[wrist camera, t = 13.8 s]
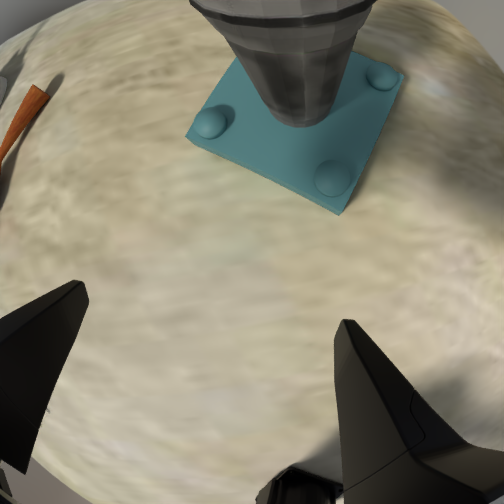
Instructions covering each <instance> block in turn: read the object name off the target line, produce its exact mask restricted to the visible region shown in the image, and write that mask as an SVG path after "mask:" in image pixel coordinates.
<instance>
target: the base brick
mask: <svg viewBox="0 0 504 504" xmlns="http://www.w3.org/2000/svg"><path fill="white" fill-rule="evenodd" d="M403 78H404V75H402V74H400V73H398V72H396V71H395V70H394V69H393V68H392V67H391V66H389V65H388V64H385V63H382V62H376V61H374V60H372V59H369V58H367V57H365V56H363V55H360V54H358V53H356V52H353V51H351V53H350V57H349V60H348V63H347V66H346V69H345V72H344V75H343V78H342V81H341V84H340V87H339V90H338V93H337V96H336V98H335V101H334V104H333V105H332V107H331V110H330V113H329V114H328V115H327V116H326V118H325V119H324V120H323V121H321V122H319V123H318V124H316V125H314V126H310V127H306V128H294V127H291V126H287V125H284V124H283V123H281V122H280V121H278V120H276V119H275V117H274V116H273V115H272V114H271V113H270V111H269V109H268V107H267V106H266V105H265V104H264V102H263V101H262V99H261V97H260V95H259V94H258V92H257V90H256V88H255V87H254V85H253V83H252V81H251V80H250V78H249V76H248V75H247V73H246V71H245V69H244V68H243V66H242V64H241V63H240V61H239V60H238V58H237V57H236V58H235V59H234V61H233V62H232V64H231V65H230V67H229V68H228V69H227V71H226V72H225V74H224V75H223V77H222V78H221V80H220V81H219V83H218V84H217V86H216V87H215V89H214V90H213V92H212V93H211V95H210V96H209V98H208V99H207V101H206V103H205V104H204V106H203V107H202V109H201V111H200V112H199V113H198V114H197V115H196V117H195V119H194V122H193V124H192V125H191V127H190V129H189V131H188V132H187V134H186V136H185V137H186V138H187V139H189V140H190V141H191V142H192V143H193V144H194V145H196V146H198V147H200V148H203V149H205V150H207V151H210V152H212V153H214V154H216V155H219V156H221V157H223V158H225V159H227V160H230V161H232V162H234V163H236V164H238V165H240V166H243V167H245V168H247V169H249V170H251V171H253V172H255V173H257V174H259V175H261V176H263V177H265V178H268V179H270V180H272V181H274V182H276V183H278V184H280V185H282V186H284V187H286V188H288V189H290V190H291V191H293V192H295V193H297V194H299V195H301V196H303V197H305V198H307V199H309V200H311V201H313V202H314V203H316V204H318V205H320V206H322V207H324V208H326V209H327V210H329V211H331V212H333V213H335V214H337V215H338V216H339V215H340V214H341V213H342V211H343V209H344V207H345V205H346V203H347V201H348V199H349V197H350V195H351V193H352V191H353V189H354V187H355V185H356V183H357V181H358V179H359V177H360V175H361V173H362V171H363V169H364V167H365V165H366V163H367V160H368V158H369V156H370V154H371V152H372V150H373V147H374V145H375V143H376V141H377V139H378V137H379V134H380V132H381V130H382V128H383V125H384V123H385V121H386V118H387V116H388V114H389V112H390V109H391V107H392V104H393V102H394V100H395V97H396V95H397V93H398V90H399V88H400V85H401V83H402V80H403Z"/></svg>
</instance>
